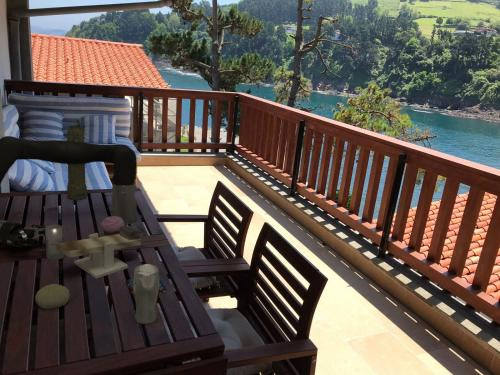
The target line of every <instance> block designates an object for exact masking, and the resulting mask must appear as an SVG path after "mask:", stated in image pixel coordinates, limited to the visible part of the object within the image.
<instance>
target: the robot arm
mask: <svg viewBox="0 0 500 375" xmlns="http://www.w3.org/2000/svg"><path fill="white" fill-rule="evenodd" d="M17 160H19V161H20V160H35V161H36V160H38V161H43V162H44V161H45V162H48V163H54V164H55V163H56V164H60V165H61V164H63V165H67V164H85V165H86V164H90V163H91V164H92V163H107V164H113V175H112V179H111V183H112V184H111V190H112V191H111V192H112V196H111V197H112V198H111V200H112V201H111V202H112V208H111V210H112V212H111V214H112V216H118V217H120V218H122V219H123V221H124V224H125V225H129V224H133V223H135V222H136V221H137V206H138V205H137V199H135V194H136V192H135V188H136V186H135V185H136V178H137V164H138V163H137V154H136V152H135V151H134V150H133V149H132V147H130V146H128V145H126V144H121V143H120V144H99V143H98V144H97V143H90V142H85V141H84V142H77V141H67V140H65V139H64V140H63V139H60V140H58V139H57V140H53V139H52V140H50V139H49V140H31V139H25V138H19V137H15V136H12V135H7V136H3V137H0V185H1V184H2V182H3V180H4V178H5V176H6V175H7V174H8V172H9V171H10V170H11V167H12V166H13V165H14V164H15V163H16V161H17ZM46 226H47V225H42V224H41V225H40V224H31V225H30V226H29V227H24V225H23V224H22V223H20V222H15V221H9V220H3V219H2V220H1V219H0V243H6V245H8V246H13V247H18V248H23V247H24V246H28V245H29V246H34V247H38V246H39V245H40V239H37V238H39V237H42V236H44V237H45V227H46Z"/></svg>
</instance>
